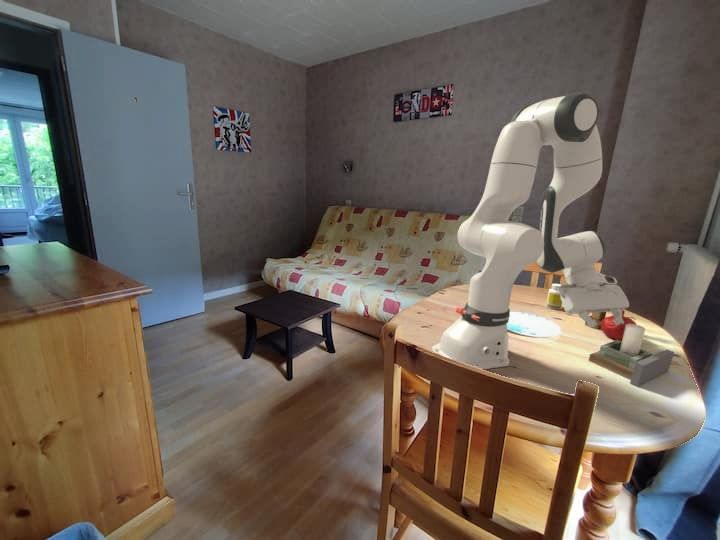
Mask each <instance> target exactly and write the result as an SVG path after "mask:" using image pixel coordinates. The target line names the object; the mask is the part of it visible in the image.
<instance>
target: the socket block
mask: <svg viewBox="0 0 720 540" xmlns="http://www.w3.org/2000/svg"><path fill="white" fill-rule="evenodd" d="M621 343H622V341H620V340H616V339H615V340H612V341H610V342H607V343H604V344H602V345H600V348H599V350H597V351H596V352H593V353H590V354H589V357H588V358H589V359H588V361H589V362H590V363H592V364H596V365H598V366H600V367H602V368H603V369H607V370H608V371H610V372H613V373H614V374H617V375H618V376H619V375H620V377H623V378H625V379H628V380H630V381H631V378H632V374H633V370H634V367H635V363H636V362H638V361H640V360H643V359H645V358H647V357H650V356H652V355H654V354H653V353H652V352H650V351H648V350H645V349H642V348H640V352H639V355H637V356H634V357H632V356H630V355H627V354H625V353H623V352H620V348H621Z"/></svg>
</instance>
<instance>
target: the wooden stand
mask: <svg viewBox="0 0 720 540" xmlns="http://www.w3.org/2000/svg"><path fill="white" fill-rule="evenodd" d="M589 316H590V317H591V318H592V320H595V321H596V323H597V326H595V327H590V328H592V329H595V330H601V322H602V320H603V319H604V318H605V317H607V312H597V313H591V315H589ZM584 324H585V325H586V327H588V325H587V323H586V322H585V321H584ZM601 331H602V330H601Z"/></svg>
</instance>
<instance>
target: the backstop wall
mask: <svg viewBox="0 0 720 540" xmlns="http://www.w3.org/2000/svg"><path fill="white" fill-rule="evenodd" d="M674 355H675V351H673V350H669V349H664V350H662V351H659V352H658V353H657V352H656V353H654V354H652V356H650V357H647V358H645V359H643V360H640V361H638V362H636V363H635V367H634V370H633V374H632V378H631V380H630V381H629V384H630V385H633V386H635V387H640V386H642V385H644V384H646V383H649V382H650V381H652V380H655V379H657V378H659V377H661V376H662V375H664V374H667V373H668V372H669V371H670V368H671V364H672V361H673V357H674Z"/></svg>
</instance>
